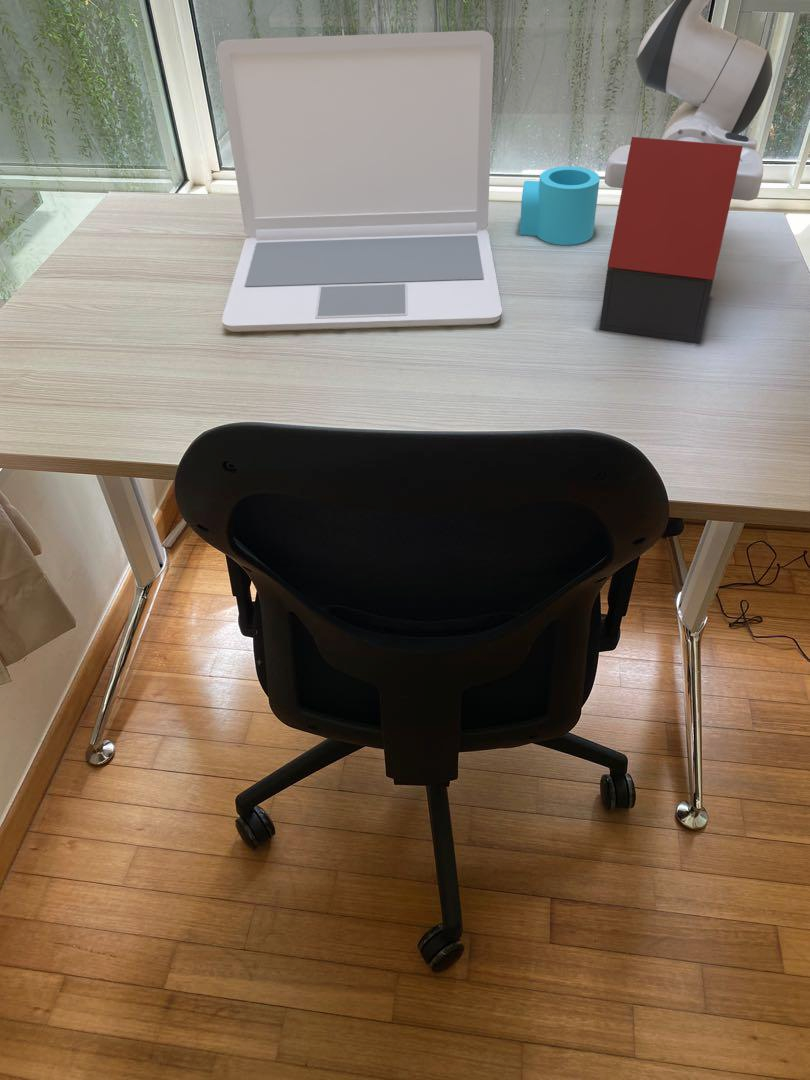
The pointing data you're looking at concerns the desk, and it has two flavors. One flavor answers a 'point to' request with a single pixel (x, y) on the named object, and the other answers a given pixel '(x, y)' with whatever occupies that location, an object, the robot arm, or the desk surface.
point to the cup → (560, 205)
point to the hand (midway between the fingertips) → (676, 194)
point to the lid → (674, 207)
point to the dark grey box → (655, 304)
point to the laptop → (361, 180)
